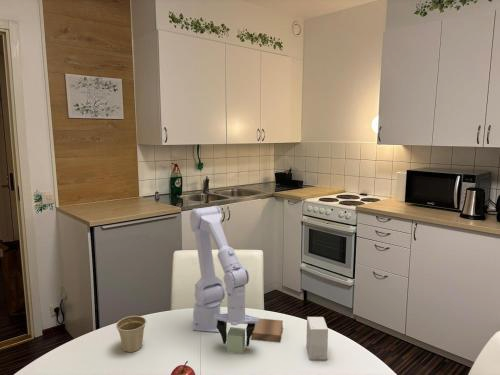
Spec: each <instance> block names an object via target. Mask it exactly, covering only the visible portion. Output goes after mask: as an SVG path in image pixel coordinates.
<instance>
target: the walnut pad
mask: <svg viewBox="0 0 500 375" xmlns="http://www.w3.org/2000/svg"><path fill="white" fill-rule="evenodd" d="M258 318H259V324H258V326H255V328H254V331H253V332H252V334H251V337H250V341H251V340H253V341H263V342H274V343H281V339H282V333H283V322H284V321H283V320H281V319H272V318H271V319H270V318H260V317H258Z"/></svg>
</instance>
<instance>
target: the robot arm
mask: <svg viewBox="0 0 500 375" xmlns="http://www.w3.org/2000/svg"><path fill="white" fill-rule="evenodd" d="M189 221H190V227H191V232H193V233H194V234H195V242H196V249H197V256H198V263H199V271H200V276H201V277H200V278H199V279H198V281H197V282H196V283H195V284H194V298H195V303H194V305H193V309H192V310H193V311H192V312H193V315H192V316H193V317H192V318H193V322H192V323H193V328H192V330H193V331H200V332H208V333H210V332H211V333H219V334H220V336H221V340H222V344H224V345H226V344H227V334H228V332H227V324H230V325H231V326H238V325H240V324H241V325H242V324H243V325H246V328H245V335H246V339H245V347H249V345H250V341H251V334H252V332H253V331H254V328H255V326H258V324H259V318H260V317H256V316H252V315H249V314H246V285H248V284H249V281H250V275H249V272H248V269H247V268H246V267H245V266H244V265H243V264H242V263H241V262H240V261H239V258H238V256H237V254H236V252H235V249H234V247H232V246H229V242H228V241H227V237H226V234H225V232H224V229H223V226H222V221H223V215H222V211H221V209H220V207H219V206H218V205H213V206H207V207H200V208H198V207H197V208H193V209H192V210H191V212H190V214H189ZM211 238H212V240H213V242H214V245H215V246H216V249H217V250H218V252H217V255H216V256H217V259H218V260H219V261H218V262H219V263H220V265H221V267H222V270H223V273H224V274H223V279H222V278H220V277H218V276H216V272H215V271H216V270H215V264H214V256H213V250H212V243H211ZM223 284H224V285H223ZM226 293H227V297H226ZM225 297H226V298H227V303H226V304H227V313H221V304H223V300H224V299H225Z"/></svg>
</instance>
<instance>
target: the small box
mask: <svg viewBox="0 0 500 375" xmlns="http://www.w3.org/2000/svg"><path fill="white" fill-rule="evenodd" d="M328 339H329V328H328V326H327V323H326V319H325V318H324V316H306V349H307V353H308V358H309V361H311V360H313V361H315V360H317V361H321V360H322V361H326V360H328V345H329V344H328V342H329V341H328Z"/></svg>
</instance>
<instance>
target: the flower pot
mask: <svg viewBox="0 0 500 375" xmlns="http://www.w3.org/2000/svg"><path fill="white" fill-rule="evenodd" d="M146 324H147V319H146V318H145V317H144V316H140V315H129V316H125V317H123V318H121V319H120V320H118V321H117V322H116V323H115V326H116V327H115V328H116V329H117V331H118V333H119V337H120V342H121V346H122V350H123V351H125V352H127V353H135V352H137V351H139V350H140V349H142V348H143V343H144V342H143V341H144V334H145V333H144V332H145V330H144V329H145V327H146Z"/></svg>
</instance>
